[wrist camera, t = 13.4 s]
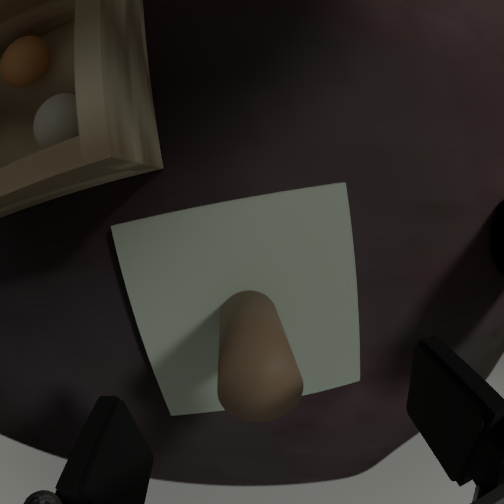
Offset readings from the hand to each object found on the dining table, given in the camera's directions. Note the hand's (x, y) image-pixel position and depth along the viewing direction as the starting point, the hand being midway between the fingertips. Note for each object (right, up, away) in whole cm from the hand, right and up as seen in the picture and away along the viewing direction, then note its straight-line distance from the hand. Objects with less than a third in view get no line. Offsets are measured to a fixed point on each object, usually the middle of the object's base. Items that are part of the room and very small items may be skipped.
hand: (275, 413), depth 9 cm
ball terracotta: (-14, +16, +5) cm, 22 cm away
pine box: (-12, +14, +6) cm, 20 cm away
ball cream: (-10, +12, +6) cm, 17 cm away
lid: (-1, +1, +10) cm, 10 cm away
